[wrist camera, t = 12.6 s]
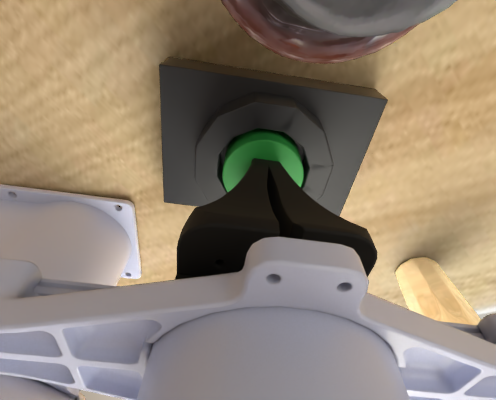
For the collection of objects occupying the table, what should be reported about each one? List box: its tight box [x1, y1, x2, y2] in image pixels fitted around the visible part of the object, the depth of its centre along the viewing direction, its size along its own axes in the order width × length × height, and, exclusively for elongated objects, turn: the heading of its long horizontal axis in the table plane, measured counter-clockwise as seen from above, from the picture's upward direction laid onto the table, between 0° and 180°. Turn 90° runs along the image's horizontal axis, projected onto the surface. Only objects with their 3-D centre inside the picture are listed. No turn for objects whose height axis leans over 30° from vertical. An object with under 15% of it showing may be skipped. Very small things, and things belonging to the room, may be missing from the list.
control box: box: [159, 57, 388, 216], centre depth 16 cm, size 11×8×4 cm
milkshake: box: [395, 257, 481, 325], centre depth 20 cm, size 4×5×10 cm
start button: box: [222, 128, 304, 192], centre depth 15 cm, size 4×4×2 cm
